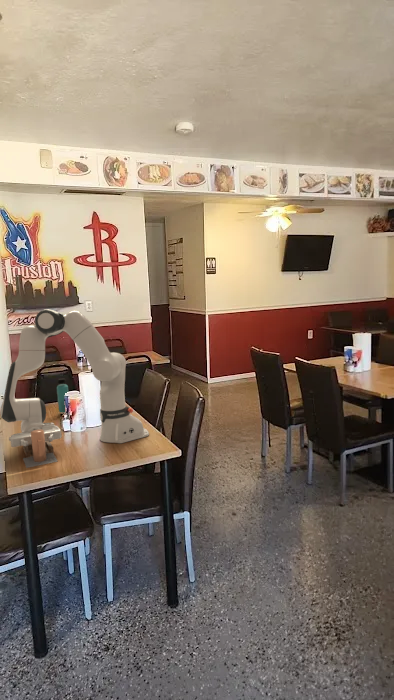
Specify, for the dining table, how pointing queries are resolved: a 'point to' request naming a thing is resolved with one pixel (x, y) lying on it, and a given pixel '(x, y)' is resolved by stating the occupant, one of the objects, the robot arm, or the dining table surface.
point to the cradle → (29, 450)
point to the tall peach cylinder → (38, 445)
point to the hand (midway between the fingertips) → (38, 442)
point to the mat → (49, 459)
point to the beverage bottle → (61, 394)
